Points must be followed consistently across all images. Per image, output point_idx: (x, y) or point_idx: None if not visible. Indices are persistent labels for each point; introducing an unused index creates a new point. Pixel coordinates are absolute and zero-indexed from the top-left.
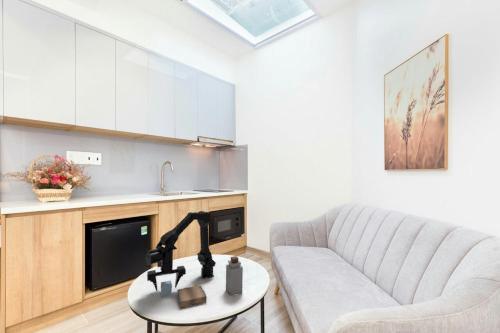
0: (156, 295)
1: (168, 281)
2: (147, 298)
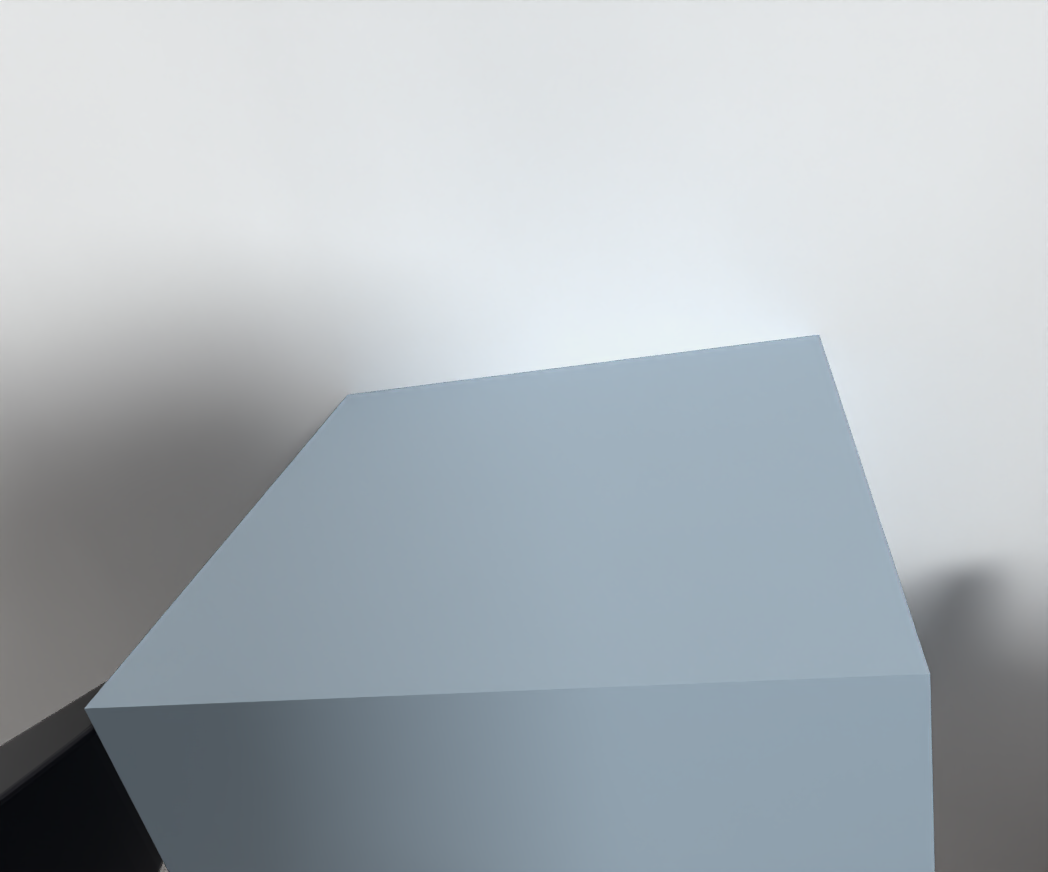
0: None
1: (691, 776)
2: (27, 711)
